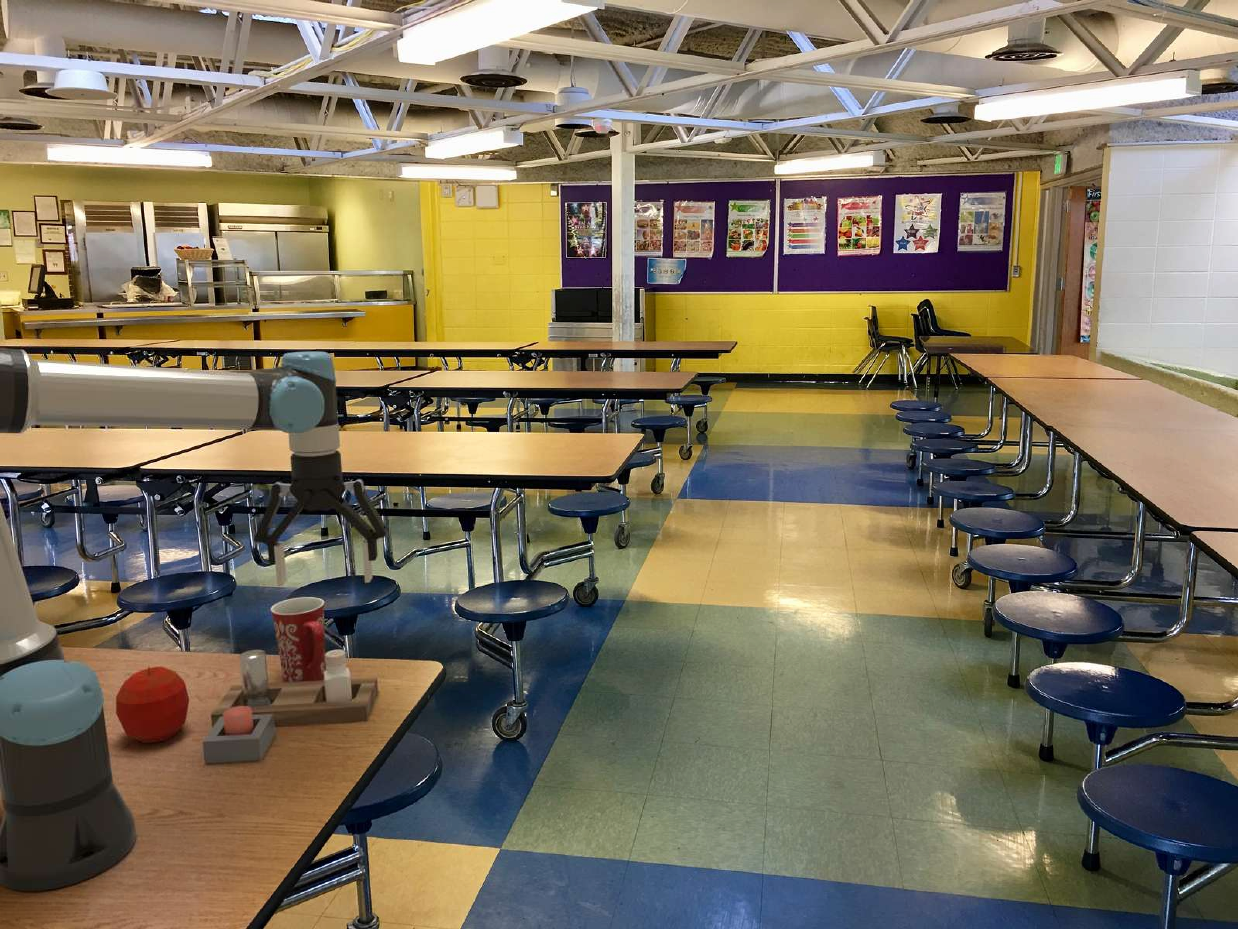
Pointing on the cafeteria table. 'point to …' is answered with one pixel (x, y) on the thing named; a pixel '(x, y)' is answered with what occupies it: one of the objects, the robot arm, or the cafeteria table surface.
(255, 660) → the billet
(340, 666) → the pepper shaker
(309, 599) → the mug
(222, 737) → the button housing
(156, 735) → the apple
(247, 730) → the button
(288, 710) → the board
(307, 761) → the cafeteria table surface
